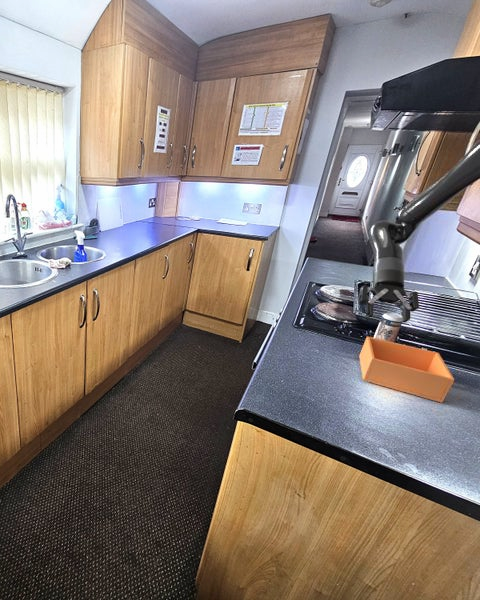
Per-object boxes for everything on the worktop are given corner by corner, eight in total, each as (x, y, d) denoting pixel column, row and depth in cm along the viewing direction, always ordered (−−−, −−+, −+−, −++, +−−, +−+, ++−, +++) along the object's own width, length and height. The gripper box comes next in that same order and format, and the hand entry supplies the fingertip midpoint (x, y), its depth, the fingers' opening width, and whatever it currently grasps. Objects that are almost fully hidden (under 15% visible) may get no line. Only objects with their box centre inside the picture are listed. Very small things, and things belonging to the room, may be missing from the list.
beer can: (370, 349, 103) (384, 316, 98) (369, 343, 106) (382, 310, 101) (390, 354, 100) (406, 320, 95) (388, 347, 104) (403, 314, 99)
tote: (428, 373, 91) (438, 352, 89) (442, 402, 80) (454, 379, 77) (359, 355, 99) (367, 336, 97) (363, 380, 88) (372, 358, 85)
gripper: (366, 265, 107) (364, 309, 102) (423, 271, 101) (424, 319, 96) (356, 276, 113) (354, 318, 108) (409, 282, 108) (409, 327, 103)
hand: (387, 318), depth 102 cm, fingers open, 8 cm apart
